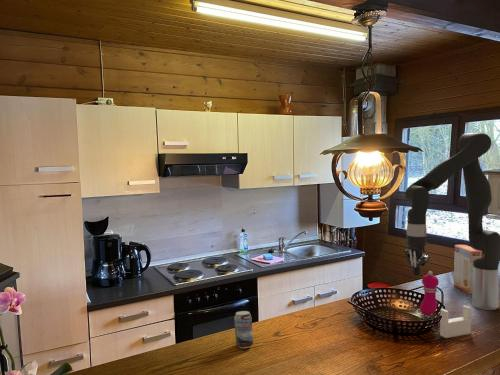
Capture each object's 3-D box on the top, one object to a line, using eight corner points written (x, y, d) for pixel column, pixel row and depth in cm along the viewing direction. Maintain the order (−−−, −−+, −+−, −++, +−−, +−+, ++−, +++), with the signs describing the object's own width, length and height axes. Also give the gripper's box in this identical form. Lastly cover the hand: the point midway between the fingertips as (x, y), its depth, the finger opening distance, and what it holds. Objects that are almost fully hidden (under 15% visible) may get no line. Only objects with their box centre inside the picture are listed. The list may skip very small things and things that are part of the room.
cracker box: (481, 294, 178) (482, 250, 176) (468, 294, 178) (469, 251, 176) (465, 284, 192) (466, 244, 190) (453, 285, 192) (454, 244, 190)
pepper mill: (419, 322, 150) (419, 272, 148) (420, 315, 156) (420, 267, 155) (439, 325, 147) (440, 274, 145) (439, 318, 153) (440, 269, 151)
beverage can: (240, 352, 129) (239, 318, 128) (231, 343, 135) (230, 311, 135) (256, 348, 132) (256, 314, 131) (247, 339, 138) (246, 307, 138)
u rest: (465, 330, 142) (465, 305, 141) (470, 333, 139) (471, 307, 139) (440, 335, 139) (440, 309, 138) (445, 338, 136) (445, 311, 136)
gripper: (435, 236, 151) (435, 278, 153) (413, 230, 164) (412, 269, 165) (420, 237, 149) (419, 280, 151) (398, 231, 162) (398, 271, 163)
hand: (416, 275), depth 158 cm, fingers closed
